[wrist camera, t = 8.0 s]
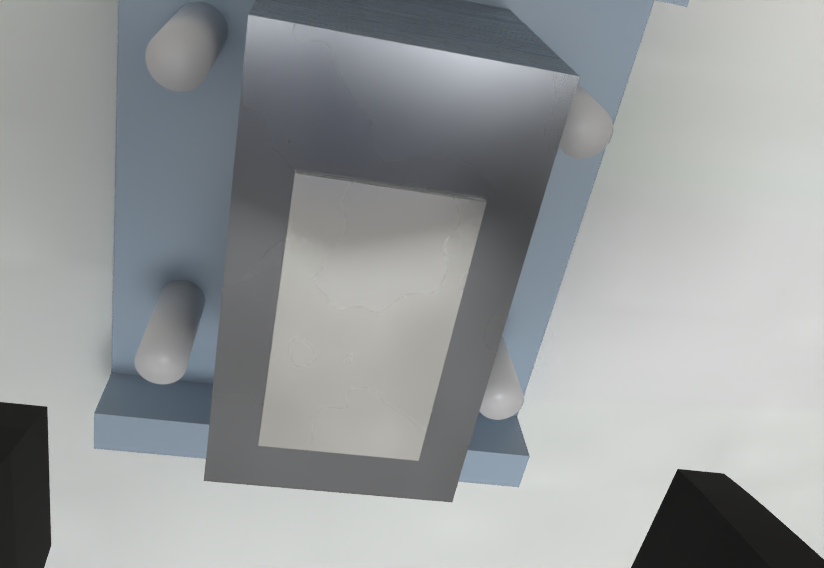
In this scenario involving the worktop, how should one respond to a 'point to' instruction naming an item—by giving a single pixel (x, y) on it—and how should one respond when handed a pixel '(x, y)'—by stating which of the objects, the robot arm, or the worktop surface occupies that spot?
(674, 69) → the worktop surface
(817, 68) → the worktop surface
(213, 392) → the block
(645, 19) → the tray
